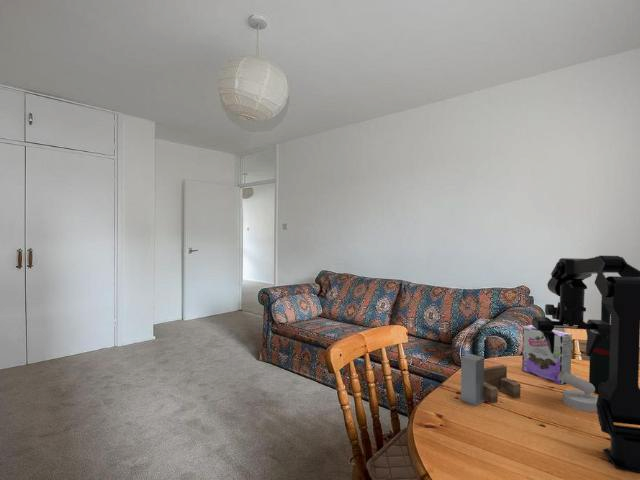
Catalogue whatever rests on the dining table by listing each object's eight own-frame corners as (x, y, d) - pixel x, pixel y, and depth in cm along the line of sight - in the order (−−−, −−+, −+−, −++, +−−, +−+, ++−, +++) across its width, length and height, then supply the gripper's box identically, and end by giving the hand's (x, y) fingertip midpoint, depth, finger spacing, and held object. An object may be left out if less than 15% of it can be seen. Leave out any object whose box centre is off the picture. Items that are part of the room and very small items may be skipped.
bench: (523, 396, 107) (523, 373, 107) (487, 403, 102) (488, 379, 102) (502, 386, 114) (502, 365, 114) (468, 393, 109) (468, 370, 109)
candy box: (521, 370, 128) (521, 325, 128) (531, 368, 131) (532, 323, 131) (560, 385, 116) (561, 335, 116) (571, 382, 118) (572, 333, 118)
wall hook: (552, 365, 107) (590, 367, 105) (552, 396, 108) (589, 399, 106) (566, 376, 99) (607, 379, 97) (566, 410, 99) (606, 413, 97)
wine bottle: (629, 402, 104) (631, 300, 103) (586, 391, 111) (588, 296, 110) (632, 394, 109) (633, 297, 109) (591, 384, 116) (592, 293, 116)
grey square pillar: (483, 402, 103) (484, 357, 103) (475, 406, 101) (475, 360, 101) (469, 396, 107) (469, 353, 107) (460, 400, 104) (461, 356, 104)
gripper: (594, 296, 107) (592, 346, 109) (526, 294, 112) (525, 342, 113) (615, 305, 97) (613, 361, 98) (539, 302, 101) (537, 355, 102)
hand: (569, 354), depth 103 cm, fingers open, 9 cm apart
